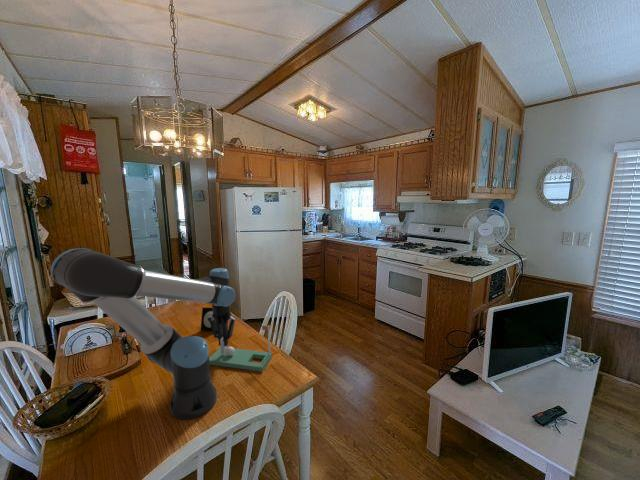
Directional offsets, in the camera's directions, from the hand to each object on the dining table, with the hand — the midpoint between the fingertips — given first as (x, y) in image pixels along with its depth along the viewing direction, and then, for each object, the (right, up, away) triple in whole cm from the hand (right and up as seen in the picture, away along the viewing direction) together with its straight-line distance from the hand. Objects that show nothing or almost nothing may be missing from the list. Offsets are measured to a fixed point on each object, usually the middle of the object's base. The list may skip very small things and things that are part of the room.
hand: (223, 351), depth 124 cm
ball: (+3, +1, -1) cm, 3 cm away
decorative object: (-17, +1, +29) cm, 34 cm away
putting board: (+8, -4, -1) cm, 9 cm away
